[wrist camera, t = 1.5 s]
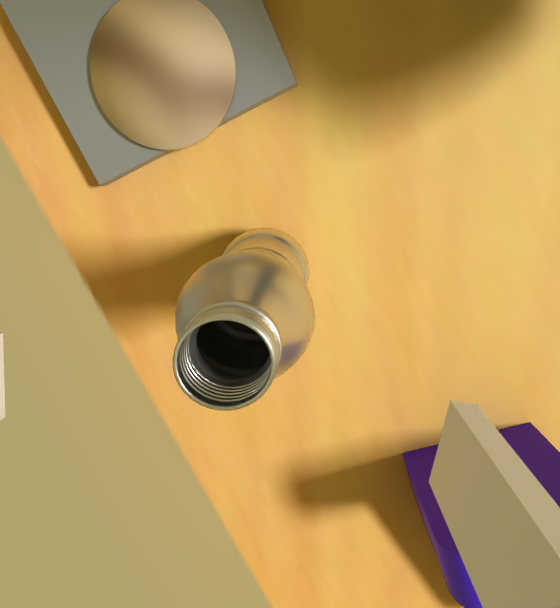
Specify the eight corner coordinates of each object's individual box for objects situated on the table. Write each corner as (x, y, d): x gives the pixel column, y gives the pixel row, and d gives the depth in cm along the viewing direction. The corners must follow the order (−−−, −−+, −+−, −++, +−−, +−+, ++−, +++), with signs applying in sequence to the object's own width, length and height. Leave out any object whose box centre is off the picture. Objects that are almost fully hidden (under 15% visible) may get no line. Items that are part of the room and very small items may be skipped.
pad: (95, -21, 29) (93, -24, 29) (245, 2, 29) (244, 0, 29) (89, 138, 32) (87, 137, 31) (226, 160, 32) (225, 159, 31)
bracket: (402, 452, 39) (444, 563, 27) (529, 421, 37) (629, 524, 26) (446, 609, 43) (498, 763, 31) (561, 587, 41) (660, 738, 30)
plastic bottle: (209, 248, 35) (93, 325, 15) (287, 209, 34) (268, 239, 14) (247, 319, 36) (184, 473, 17) (323, 284, 35) (350, 404, 16)
